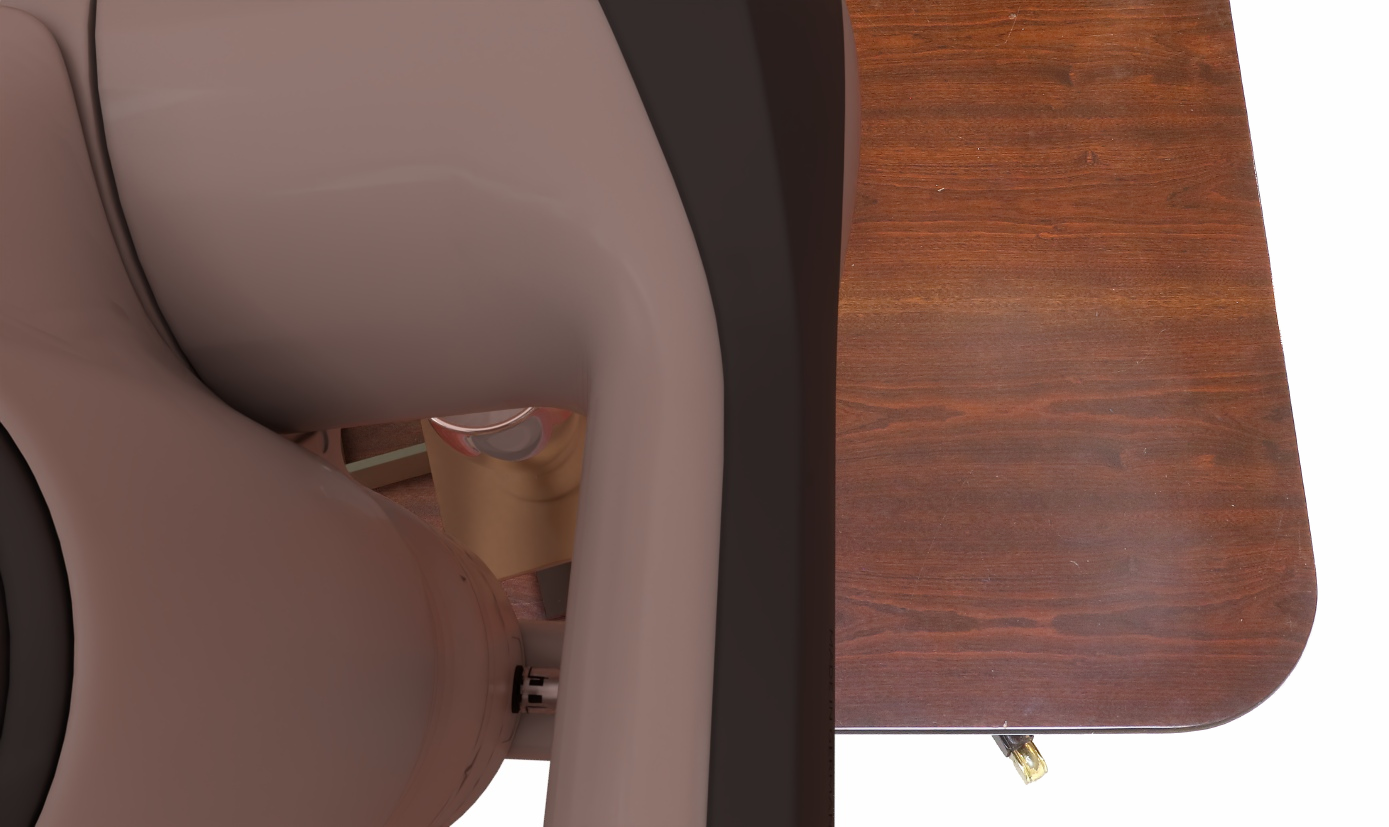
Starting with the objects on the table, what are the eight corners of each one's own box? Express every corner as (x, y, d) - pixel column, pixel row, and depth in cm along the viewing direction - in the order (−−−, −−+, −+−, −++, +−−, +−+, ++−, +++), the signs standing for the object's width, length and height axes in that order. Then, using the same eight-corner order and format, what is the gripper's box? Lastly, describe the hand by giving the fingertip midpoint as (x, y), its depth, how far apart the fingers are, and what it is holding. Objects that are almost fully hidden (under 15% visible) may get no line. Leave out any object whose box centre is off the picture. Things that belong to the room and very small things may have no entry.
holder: (343, 497, 81) (315, 482, 76) (321, 376, 85) (292, 353, 79) (473, 460, 82) (455, 442, 76) (446, 342, 85) (427, 316, 80)
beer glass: (469, 411, 54) (381, 307, 40) (585, 376, 54) (539, 261, 40) (498, 525, 52) (416, 459, 38) (618, 488, 52) (582, 409, 38)
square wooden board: (461, 593, 52) (456, 591, 51) (415, 381, 56) (410, 375, 55) (685, 528, 53) (685, 525, 52) (626, 323, 56) (624, 316, 55)
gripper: (762, 569, 24) (738, 610, 37) (-40, 535, 24) (224, 588, 37) (757, 840, 22) (734, 780, 35) (-109, 801, 22) (194, 756, 35)
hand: (467, 681), depth 36 cm, fingers open, 8 cm apart
